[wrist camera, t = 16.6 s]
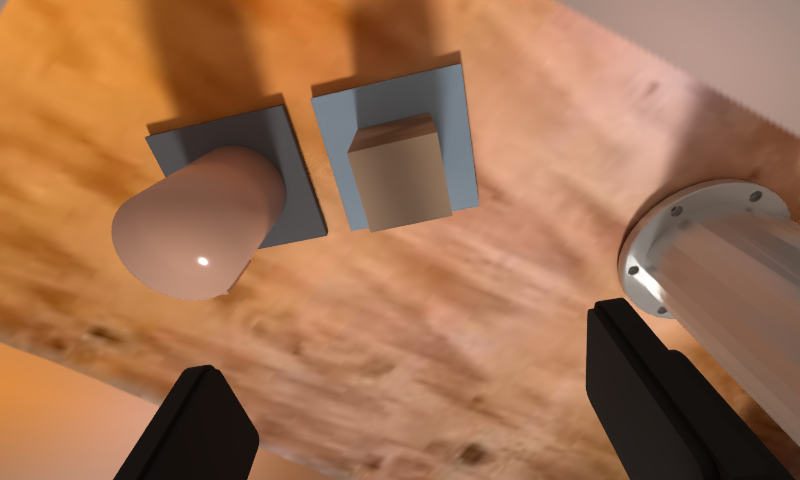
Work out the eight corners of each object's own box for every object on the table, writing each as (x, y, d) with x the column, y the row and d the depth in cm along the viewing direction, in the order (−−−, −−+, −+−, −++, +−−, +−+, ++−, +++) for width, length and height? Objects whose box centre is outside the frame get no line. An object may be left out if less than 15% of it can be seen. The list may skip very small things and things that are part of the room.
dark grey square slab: (284, 103, 26) (281, 105, 25) (328, 232, 30) (326, 235, 30) (149, 135, 27) (144, 137, 26) (212, 255, 31) (208, 258, 31)
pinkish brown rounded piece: (273, 140, 26) (216, 184, 18) (299, 238, 30) (261, 310, 22) (181, 150, 27) (87, 198, 19) (218, 246, 30) (152, 320, 22)
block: (429, 111, 26) (437, 132, 20) (442, 181, 28) (452, 215, 23) (357, 129, 26) (346, 153, 21) (376, 195, 28) (370, 232, 23)
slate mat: (459, 63, 25) (461, 63, 24) (477, 202, 29) (479, 205, 29) (312, 97, 26) (310, 98, 25) (352, 227, 30) (351, 230, 30)
